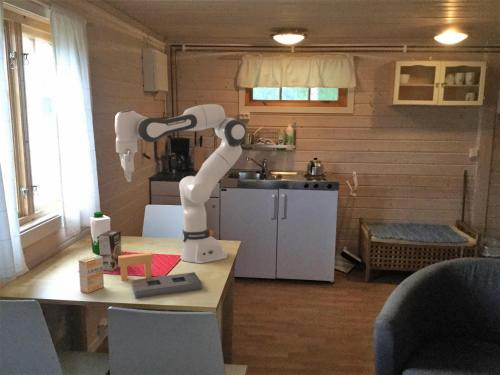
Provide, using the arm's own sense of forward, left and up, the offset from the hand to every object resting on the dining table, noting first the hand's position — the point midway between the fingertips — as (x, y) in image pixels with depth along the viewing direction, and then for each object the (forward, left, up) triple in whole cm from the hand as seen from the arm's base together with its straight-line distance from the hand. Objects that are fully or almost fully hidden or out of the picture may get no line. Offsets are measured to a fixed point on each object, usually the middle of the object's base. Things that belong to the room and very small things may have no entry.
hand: (128, 179), depth 201 cm
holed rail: (-11, +28, -40) cm, 50 cm away
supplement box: (+17, +19, -41) cm, 48 cm away
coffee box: (+8, -5, -41) cm, 42 cm away
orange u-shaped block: (-1, +12, -40) cm, 42 cm away
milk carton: (+11, -28, -41) cm, 51 cm away
